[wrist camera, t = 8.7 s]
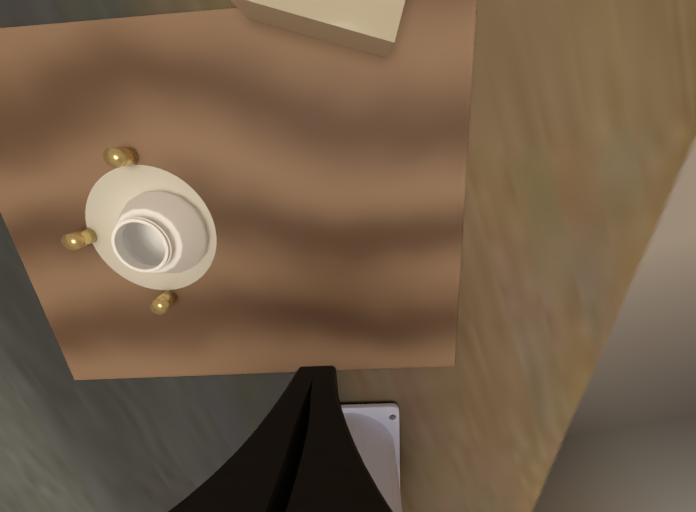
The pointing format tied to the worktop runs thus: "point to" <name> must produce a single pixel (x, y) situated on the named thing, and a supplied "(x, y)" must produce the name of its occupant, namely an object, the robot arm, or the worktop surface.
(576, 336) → the worktop surface
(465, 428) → the worktop surface
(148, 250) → the lidless jar
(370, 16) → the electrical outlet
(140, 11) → the worktop surface
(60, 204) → the wooden board
